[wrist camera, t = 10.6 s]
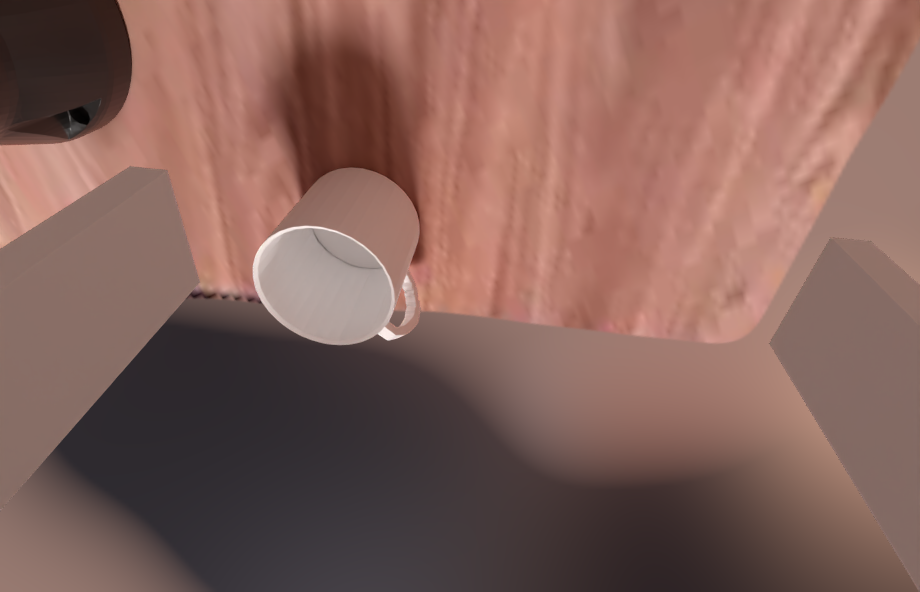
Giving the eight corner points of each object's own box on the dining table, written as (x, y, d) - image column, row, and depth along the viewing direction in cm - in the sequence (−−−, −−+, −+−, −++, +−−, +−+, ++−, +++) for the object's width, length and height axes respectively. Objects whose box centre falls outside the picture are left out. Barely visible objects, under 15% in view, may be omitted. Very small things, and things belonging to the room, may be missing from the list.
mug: (282, 193, 39) (222, 256, 31) (382, 145, 36) (342, 202, 28) (365, 310, 45) (332, 387, 37) (457, 277, 41) (441, 354, 34)
